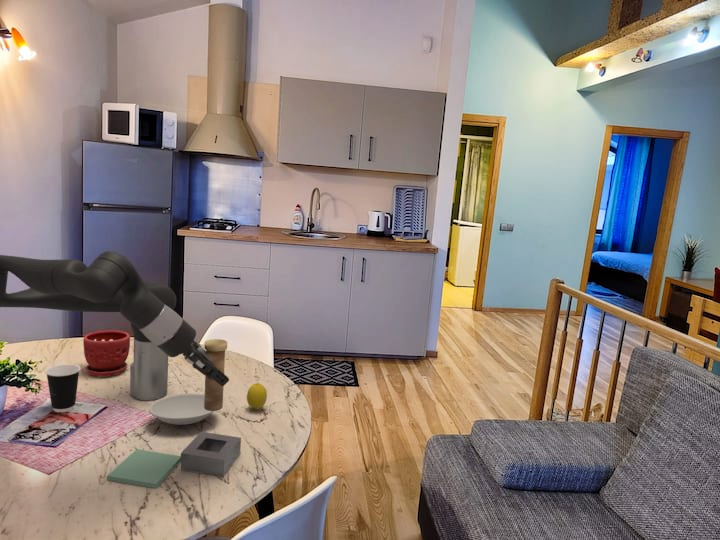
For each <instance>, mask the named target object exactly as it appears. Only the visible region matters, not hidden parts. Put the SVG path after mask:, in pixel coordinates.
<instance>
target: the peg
mask: <svg viewBox="0 0 720 540" xmlns="http://www.w3.org/2000/svg"><path fill="white" fill-rule="evenodd" d="M227 349H228V341H227V340H225V339H220V338H219V339H217V338H213V339H207V340H205V341H204V350H206V354H207V355H208V356H209V357H210V358H211V359H212V363H213V364H214V365H215V366H217V367H218V369H219V370H220V371H221V372H222V373H224V374H225V362H226V360H225V359H226V350H227ZM206 360H207V358H206ZM211 369H212V368H210V369H209V370H208V372H209V371H210V370H211ZM204 379H205V380H204V394H205V398H204V409H206V410H208V411H214V412H216V411H220V410H222V409H223V406H224V405H223V404H224V386H221V385H220V384H218V383H217V382H216V381H215V380H214V379H213V378H211V379H209V378H207V377H206V376H205V375H204Z"/></svg>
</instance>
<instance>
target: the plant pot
mask: <svg viewBox="0 0 720 540" xmlns="http://www.w3.org/2000/svg"><path fill="white" fill-rule="evenodd" d="M130 345H131V335H130V334H129V332H125V331H121V330H103V331H102V330H100V331H95V332H91V333H87V334H86V335H85V336H83V355H84V358H85V361H86V363H87V366H86V368H85V369H86V372H87V373H89V375H92V376H95V377H113V376H116V375H120V374H122V373H123V372H125V370H127V368H128V362H126V361H127V359H128V356H129V354H130Z"/></svg>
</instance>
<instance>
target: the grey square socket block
mask: <svg viewBox="0 0 720 540" xmlns="http://www.w3.org/2000/svg"><path fill="white" fill-rule="evenodd" d="M241 444H242V437H239V436H233V435H227V434H220V433H218V434H217V433H213V432H212V433H211V432H207V431H200V432H199V433H198V434H197V435H196V436H195V438H194V439H193V440H192V441H191V442H189V444H188V445H187V446H186V447H185V448H184V449H183V450H182V451H181V452H180V456H181V462H180V470H181V471H185V472H187V471H188V472H192V473H198V474H204V475H211V476H216V477H217V476H218V477H225V475H226V474H227V473H228V471H229V470H230V468H231V467H232V466H233V464H234V463H235V461H236V460H237V459H238V457H239V456H240V454H241V450H242V449H241V447H242V446H241Z"/></svg>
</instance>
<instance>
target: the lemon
mask: <svg viewBox="0 0 720 540" xmlns="http://www.w3.org/2000/svg"><path fill="white" fill-rule="evenodd" d="M267 392H268V391H267V388H266V387H265V386H264V385H263V384H261V383H259V382H256V383H254V384H252V385H251V386H250V387H249V388H248V390H247V394H246V401H247V403H248V405H249V407H250V408H253V409H254V410H258V409H261V408H262V407H263V406H265V404H266V402H267V399H268V394H267Z"/></svg>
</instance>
